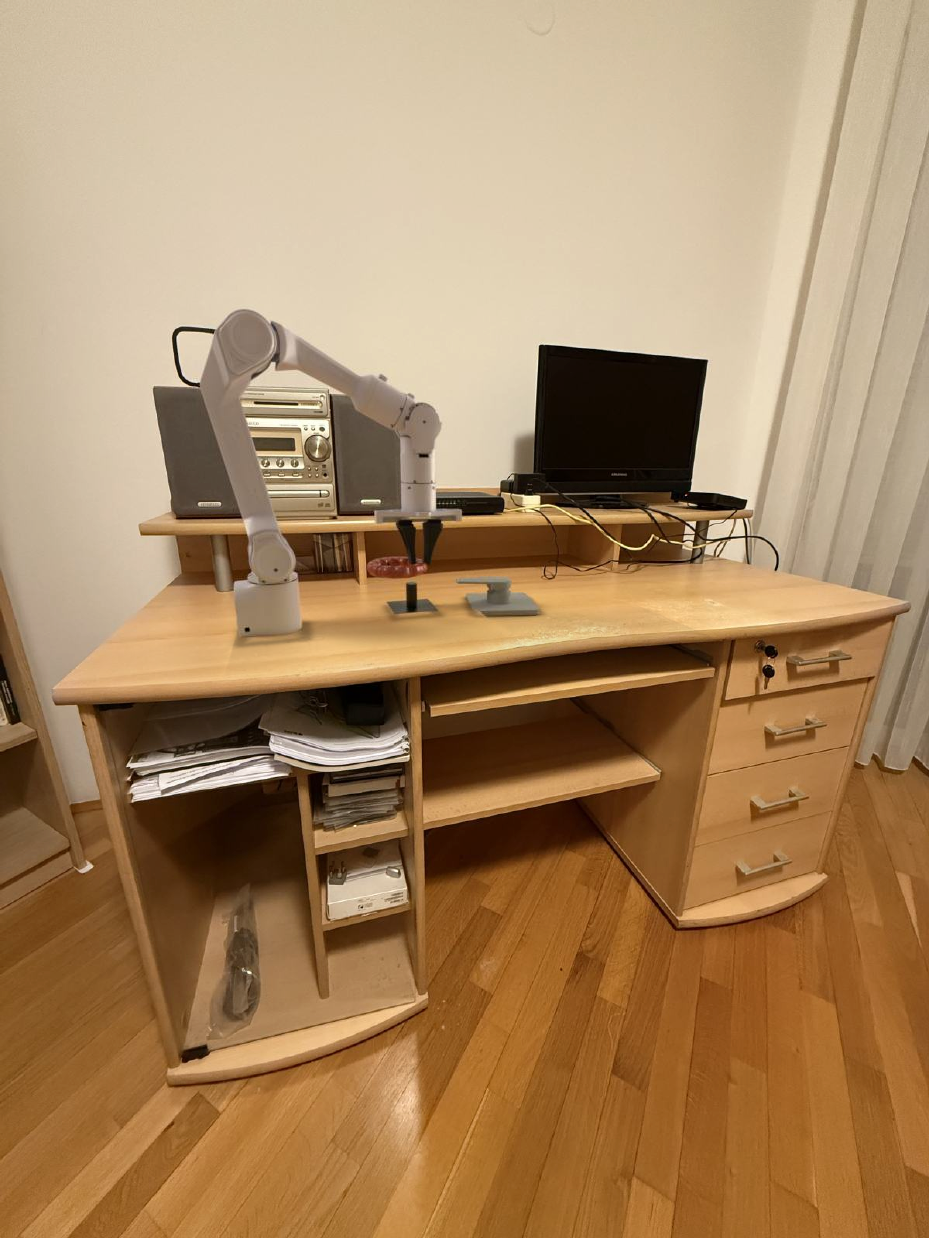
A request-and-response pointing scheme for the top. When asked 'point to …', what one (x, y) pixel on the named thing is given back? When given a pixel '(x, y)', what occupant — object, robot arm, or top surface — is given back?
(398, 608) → the peg stand
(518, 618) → the top surface
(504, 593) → the shower valve
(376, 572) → the ring
